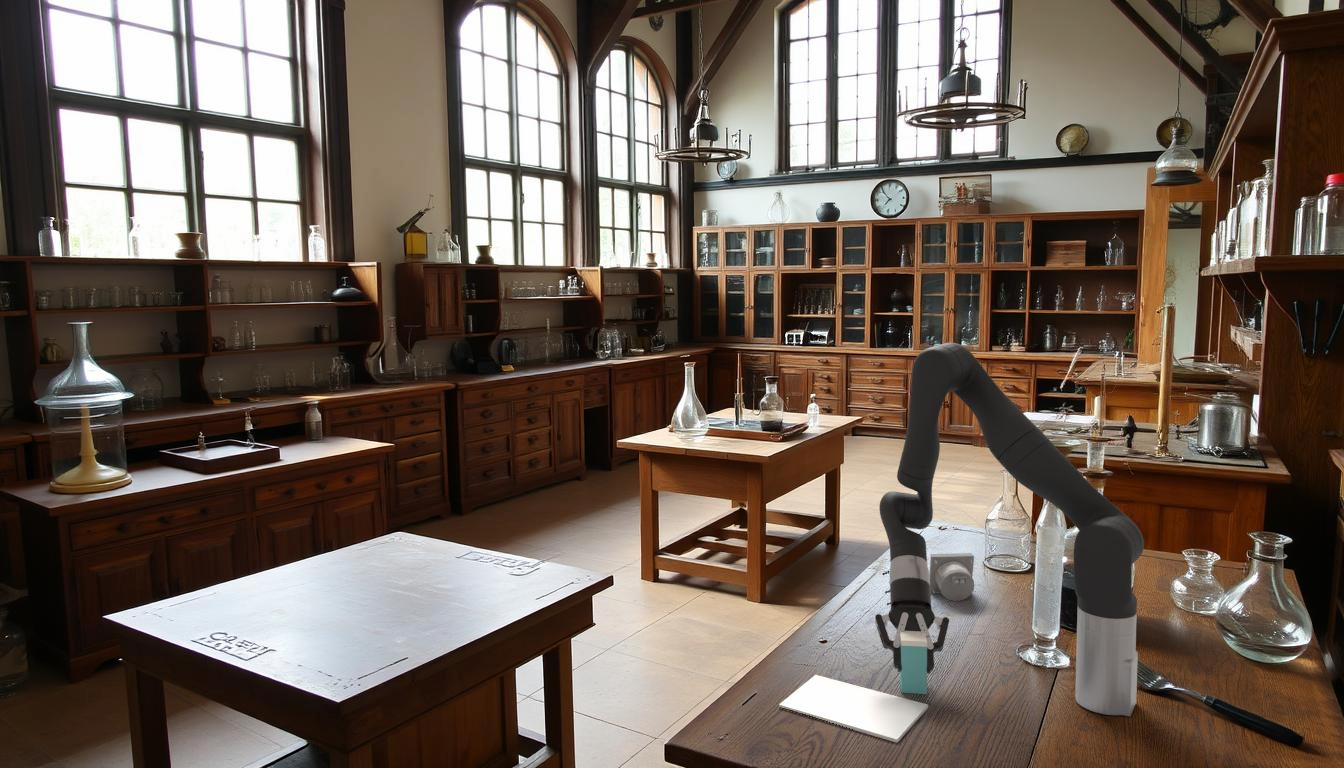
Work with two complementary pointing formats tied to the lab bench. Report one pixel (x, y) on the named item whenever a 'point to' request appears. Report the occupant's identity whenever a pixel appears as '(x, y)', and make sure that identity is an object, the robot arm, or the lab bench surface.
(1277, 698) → the lab bench surface
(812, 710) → the white board
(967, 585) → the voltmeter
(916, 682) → the teal block
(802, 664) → the lab bench surface
